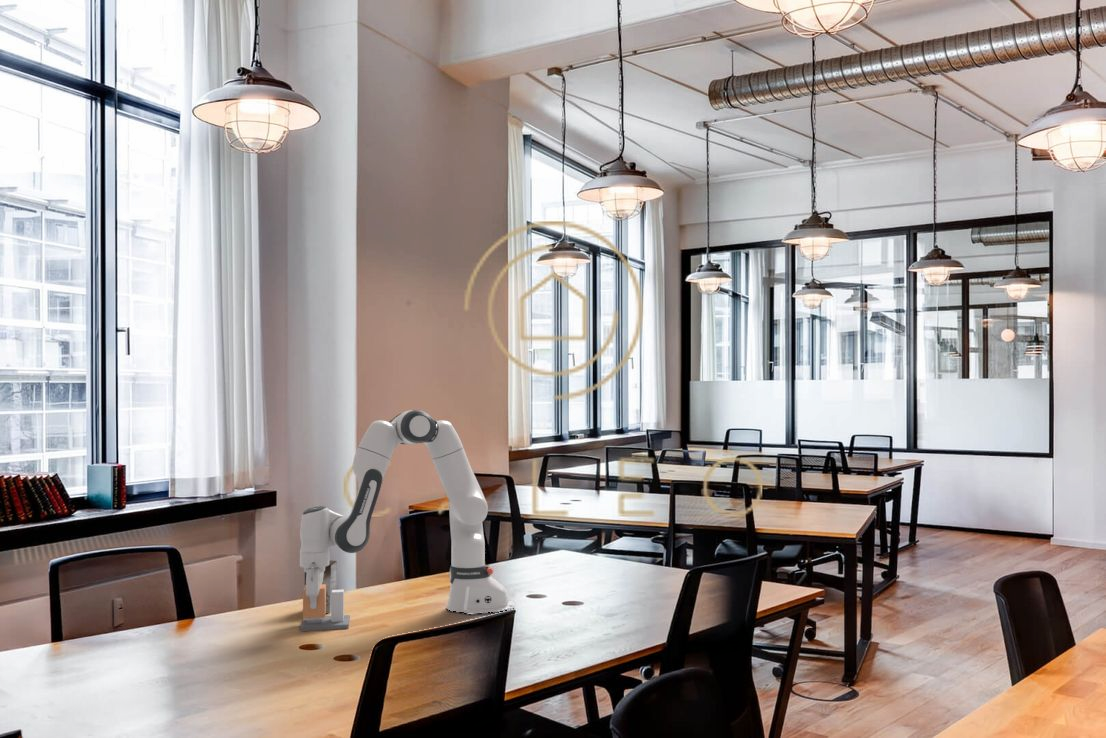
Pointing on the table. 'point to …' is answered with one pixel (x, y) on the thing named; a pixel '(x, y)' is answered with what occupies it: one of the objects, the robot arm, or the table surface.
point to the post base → (336, 618)
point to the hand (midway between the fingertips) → (314, 605)
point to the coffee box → (329, 582)
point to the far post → (314, 620)
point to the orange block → (321, 604)
